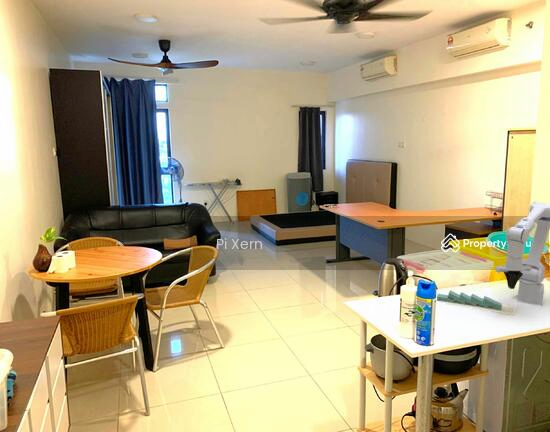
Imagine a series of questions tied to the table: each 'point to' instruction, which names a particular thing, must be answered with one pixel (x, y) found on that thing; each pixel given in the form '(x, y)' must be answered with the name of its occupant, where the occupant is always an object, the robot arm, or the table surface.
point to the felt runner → (503, 310)
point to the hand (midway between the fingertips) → (511, 288)
